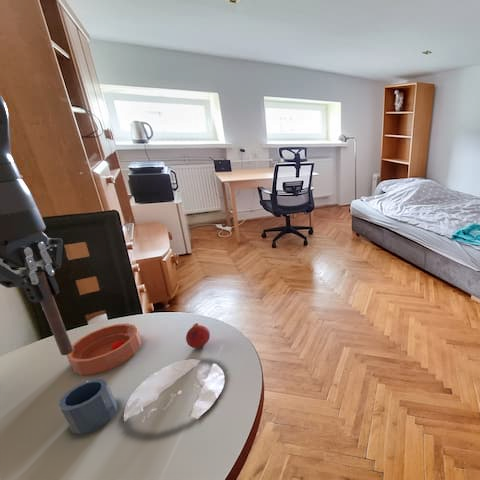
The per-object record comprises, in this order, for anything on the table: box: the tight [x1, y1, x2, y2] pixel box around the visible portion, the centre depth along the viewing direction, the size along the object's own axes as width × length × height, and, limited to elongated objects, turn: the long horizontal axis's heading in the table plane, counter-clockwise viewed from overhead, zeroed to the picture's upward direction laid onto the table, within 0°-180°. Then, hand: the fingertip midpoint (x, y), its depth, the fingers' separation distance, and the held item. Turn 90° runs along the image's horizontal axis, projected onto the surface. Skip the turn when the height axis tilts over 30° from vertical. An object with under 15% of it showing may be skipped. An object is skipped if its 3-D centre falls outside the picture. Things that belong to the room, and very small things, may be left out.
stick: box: [36, 272, 73, 356], centre depth 55 cm, size 2×2×18 cm
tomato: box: [111, 341, 124, 350], centre depth 80 cm, size 3×3×3 cm
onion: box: [185, 322, 211, 349], centre depth 80 cm, size 6×6×8 cm
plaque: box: [123, 358, 226, 423], centre depth 67 cm, size 20×20×2 cm
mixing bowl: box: [65, 323, 143, 376], centre depth 78 cm, size 15×15×5 cm
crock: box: [57, 378, 118, 435], centre depth 60 cm, size 7×8×8 cm
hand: (46, 297), depth 54 cm, fingers closed on stick, 2 cm apart
